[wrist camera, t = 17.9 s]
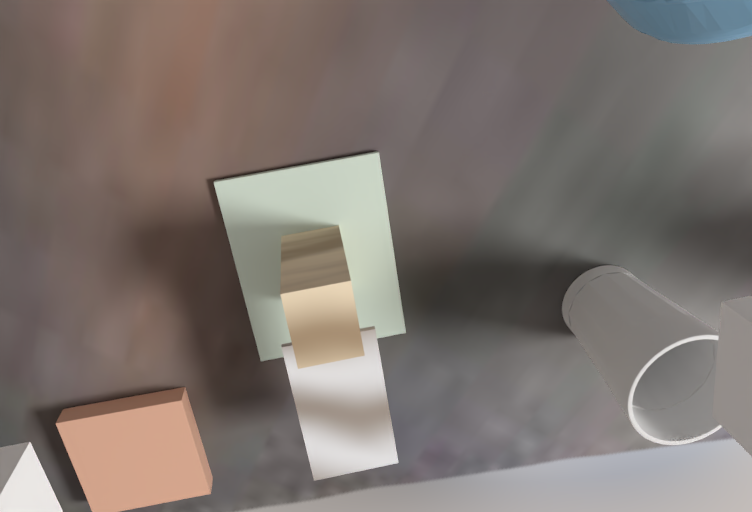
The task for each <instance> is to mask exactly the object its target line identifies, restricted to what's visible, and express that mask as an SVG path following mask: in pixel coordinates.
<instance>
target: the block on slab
mask: <svg viewBox="0 0 752 512" xmlns="http://www.w3.org/2000/svg"><path fill="white" fill-rule="evenodd" d="M280 295H281V299H282V304H283V308H284V312H285V316H286V321H287V325H288V329H289V333H290V337H291V342H290V343H285V344H281V348H282V352H283V356H284V360H285V364H286V368H287V372H288V376H289V380H290V384H291V388H292V392H293V396H294V401H295V405H296V409H297V413H298V417H299V421H300V425H301V429H302V433H303V437H304V441H305V445H306V449H307V453H308V457H309V461H310V466H311V470H312V474H313V478H314V481H315V480H320V479H324V478H329V477H334V476H339V475H343V474H348V473H353V472H358V471H362V470H367V469H372V468H377V467H381V466H386V465H391V464H396V463H398V458H397V452H396V446H395V440H394V434H393V429H392V423H391V417H390V411H389V405H388V400H387V394H386V388H385V382H384V376H383V371H382V365H381V359H380V353H379V348H378V342H377V336H376V330H375V326H371V327H366V328H361V329H360V327H359V321H358V316H357V311H356V305H355V300H354V294H353V289H352V283H351V278H350V274H349V269H348V265H347V260H346V256H345V251H344V247H343V242H342V238H341V233H340V229H339V225H338V226H332V227H327V228H321V229H316V230H311V231H305V232H300V233H295V234H289V235H284V236H281V282H280Z"/></svg>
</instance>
